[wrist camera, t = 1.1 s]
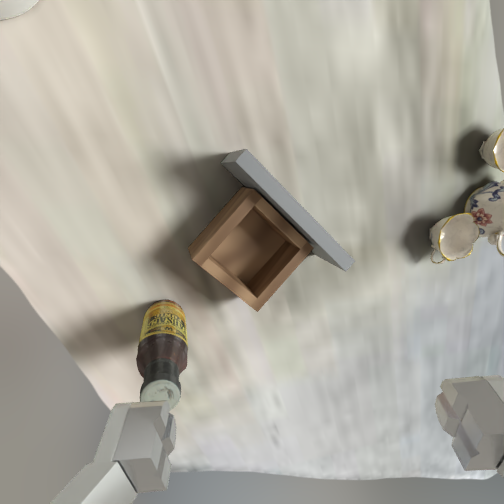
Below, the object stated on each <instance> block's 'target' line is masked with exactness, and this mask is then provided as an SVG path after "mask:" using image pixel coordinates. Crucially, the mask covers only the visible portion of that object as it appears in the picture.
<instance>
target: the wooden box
mask: <svg viewBox="0 0 504 504" xmlns="http://www.w3.org/2000/svg"><path fill="white" fill-rule="evenodd" d="M313 249H314V248H313V247H312V246H311V245H310V244H309V243H308V242H307V241H306V240H305V239H304V238H303V237H302V236H301V235H300V234H299V233H298V232H297V231H296V230H295V229H294V228H293V227H292V226H291V225H290V224H289V223H288V222H287V221H286V220H285V219H284V218H283V217H282V216H281V215H280V214H279V213H278V212H277V211H276V210H275V209H274V208H273V207H272V206H271V205H270V204H269V203H268V202H267V201H266V200H265V199H264V198H263V197H262V196H261V195H260V194H259V193H258V192H257V191H255V190H254V189H250V188H246V187H241V188H240V190H239V191H238V192H237V193H236V194H235V195H234V196H233V197H232V199H231V200H230V201H229V202H228V203H227V204H226V205H225V206H224V208H223V209H222V210H221V211H220V212H219V213H218V214H217V216H216V217H215V218H214V219H213V220H212V221H211V222H210V223H209V225H208V226H207V227H206V228H205V229H204V230H203V231H202V233H201V234H200V235H199V236H198V237H197V238H196V239H195V240H194V242H193V243H192V244H191V245H190V246H189V247H188V250H189V253H190V255H191V258H192V260H193V261H194V262H196V263H197V264H198V265H199V266H201V267H202V268H203V269H204V270H206V271H207V272H208V273H209V274H211V275H212V276H213V277H214V278H216V279H217V280H218V281H219V282H221V283H222V284H223V285H224V286H226V287H227V288H228V289H229V290H231V291H232V292H233V293H234V294H236V295H237V296H238V297H239V298H241V299H242V300H243V301H244V302H246V303H247V304H248V305H249V306H251V307H252V308H253V309H254V310H256V311H257V312H258V311H259V310H260V308H261V307H262V306H263V305H264V304H265V303H266V302H267V301H268V299H269V298H270V297H271V296H272V295H273V294H274V293H275V291H276V290H277V289H278V288H279V287H280V286H281V285H282V284H283V282H284V281H285V280H286V279H287V278H288V277H289V276H290V275H291V273H292V272H293V271H294V270H295V269H296V268H297V267H298V265H299V264H300V263H301V262H302V261H303V260H304V259H305V258H306V256H307V255H308V254H309V253H310V252H311V251H312V250H313Z"/></svg>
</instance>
